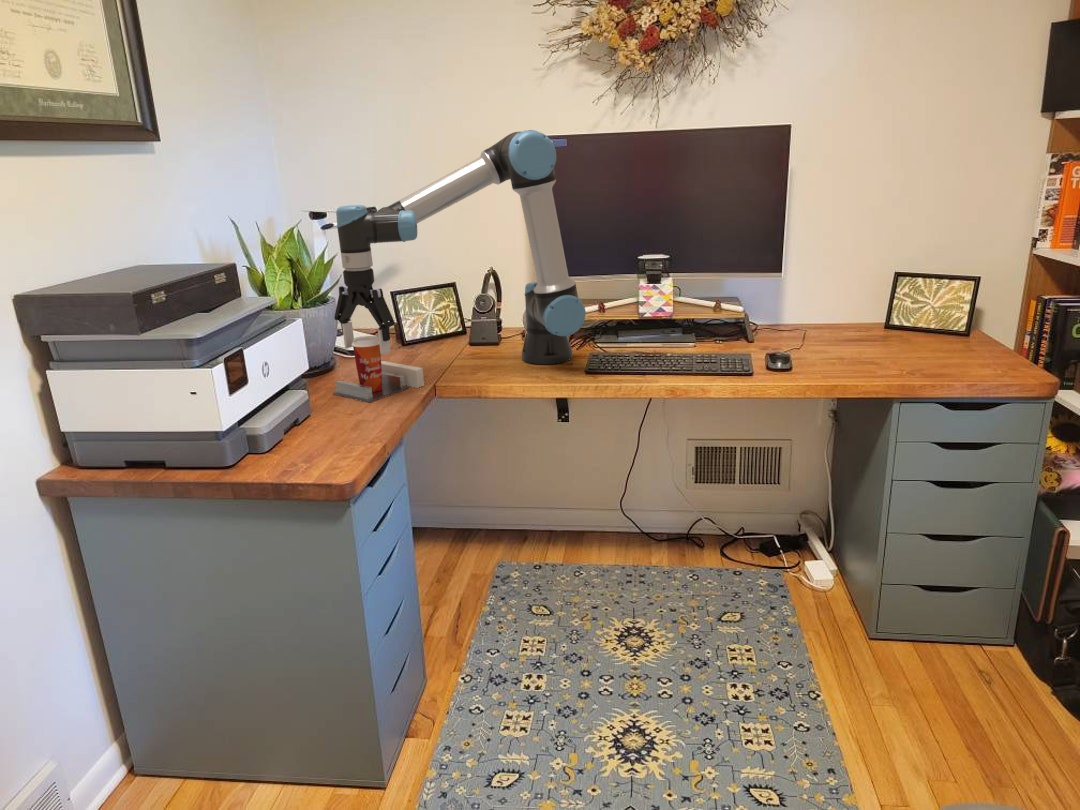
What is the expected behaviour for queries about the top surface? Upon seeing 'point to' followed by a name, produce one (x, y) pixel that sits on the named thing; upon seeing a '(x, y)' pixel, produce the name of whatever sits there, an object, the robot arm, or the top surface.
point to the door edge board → (405, 373)
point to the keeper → (364, 393)
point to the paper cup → (368, 361)
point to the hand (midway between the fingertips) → (367, 350)
